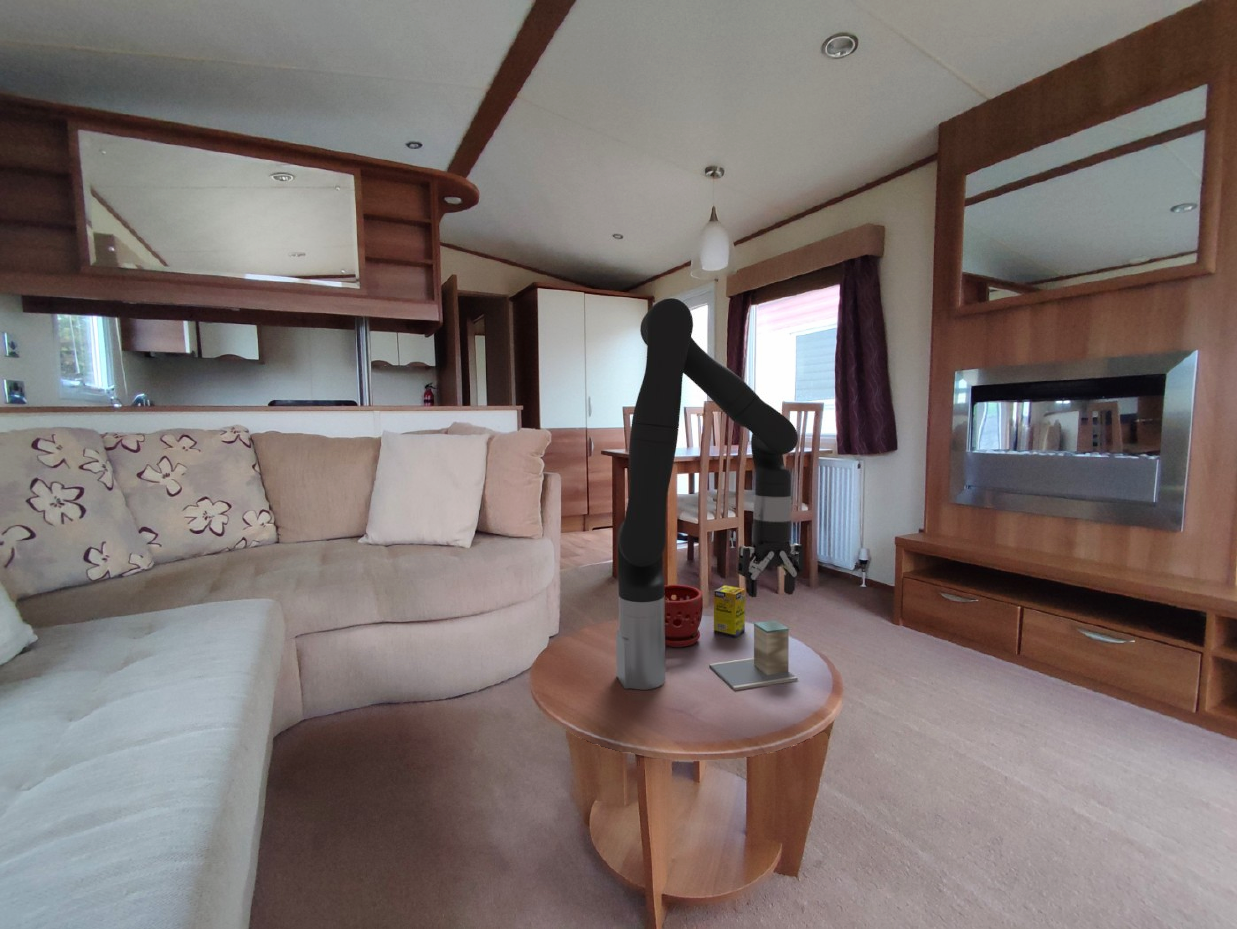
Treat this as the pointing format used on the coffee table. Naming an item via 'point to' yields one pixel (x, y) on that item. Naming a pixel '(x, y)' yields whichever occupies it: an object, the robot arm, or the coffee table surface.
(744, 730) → the coffee table surface
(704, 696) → the coffee table surface
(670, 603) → the plant pot
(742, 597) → the supplement box
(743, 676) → the felt mat
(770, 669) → the birch block
